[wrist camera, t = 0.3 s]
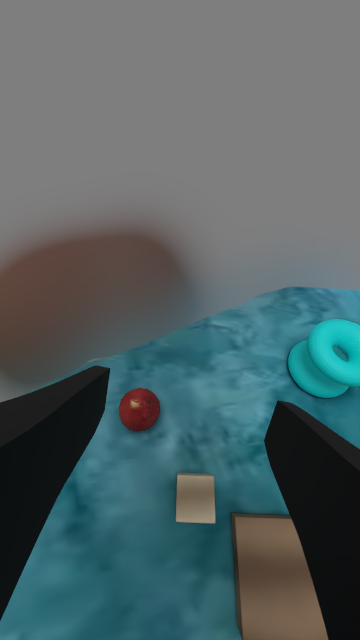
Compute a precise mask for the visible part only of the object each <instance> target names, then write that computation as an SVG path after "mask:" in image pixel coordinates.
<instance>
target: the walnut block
mask: <svg viewBox="0 0 360 640" xmlns="http://www.w3.org/2000/svg"><path fill="white" fill-rule="evenodd" d="M231 519H232V536H233V552H234V569H235V586H236V603H237V619H238V629H239V631H240V634H241V637H242V640H328V636H327V632H326V628H325V624H324V621H323V617H322V613H321V610H320V606H319V603H318V599H317V596H316V592H315V589H314V585H313V582H312V578H311V575H310V572H309V568H308V565H307V562H306V559H305V555H304V552H303V549H302V546H301V543H300V540H299V537H298V534H297V531H296V529H295V526H294V524H293V521H292V519H291V516H290V515H276V514H251V513H231Z"/></svg>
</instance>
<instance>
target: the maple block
mask: <svg viewBox="0 0 360 640" xmlns="http://www.w3.org/2000/svg"><path fill="white" fill-rule="evenodd" d="M176 522H192V523H215V496H214V476H212V475H211V474H202V473H177V504H176Z"/></svg>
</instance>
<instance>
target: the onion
mask: <svg viewBox="0 0 360 640" xmlns="http://www.w3.org/2000/svg"><path fill="white" fill-rule="evenodd" d="M159 412H160V404H159V400H158V399H157V397H156V395H155V394H154V393H153V392H151V391H149V390H148V389H143V388H138V389H133V390H131V391H129V392H128V393H126V394H125V395H124V397H123V398H122V399H121V402H120V405H119V416H120V419H121V421H122V423H123V424H124V425H125V426H126V427H127V428H128V429H129V430H133V431H143V430H146V429H148V428H149V427H151V426H152V425H153V424H154V423H155V422H156V420H157V419H158V416H159Z"/></svg>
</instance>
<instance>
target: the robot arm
mask: <svg viewBox="0 0 360 640" xmlns="http://www.w3.org/2000/svg"><path fill="white" fill-rule="evenodd" d="M109 374H110V368H106V367H101V366H93V367H91V368H88V369H86V370H84V371H82V372H79V373H77V374H75V375H73V376H71V377H68V378H66V379H64V380H62V381H59V382H57V383H55V384H52V385H49V386H47V387H44V388H42V389H39V390H37V391H34V392H32V393H29V394H26V395H23V396H20V397H17V398H14V399H11V400H7V401H4V402H1V403H0V620H1V618H2V616H3V614H4V611H5V609H6V607H7V605H8V602H9V600H10V598H11V596H12V593H13V591H14V589H15V587H16V585H17V582H18V580H19V578H20V576H21V573H22V571H23V569H24V567H25V565H26V563H27V560H28V558H29V556H30V554H31V552H32V550H33V547H34V545H35V543H36V541H37V539H38V537H39V534H40V532H41V530H42V528H43V526H44V524H45V522H46V520H47V518H48V516H49V514H50V511H51V509H52V507H53V505H54V503H55V501H56V499H57V497H58V495H59V494H60V492H61V490H62V488H63V486H64V484H65V483H66V481H67V479H68V478H69V476H70V474H71V473H72V471H73V469H74V467H75V466H76V464H77V462H78V461H79V459H80V457H81V456H82V454H83V452H84V451H85V449H86V447H87V445H88V444H89V442H90V440H91V439H92V437H93V435H94V433H95V431H96V429H97V427H98V425H99V422H100V420H101V418H102V415H103V413H104V410H105V403H106V396H107V388H108V381H109ZM264 442H265V447H266V451H267V455H268V459H269V462H270V466H271V468H272V471H273V474H274V476H275V479H276V481H277V484H278V486H279V489H280V491H281V494H282V496H283V499H284V501H285V504H286V506H287V509H288V511H289V514H290V516H291V519H292V521H293V524H294V526H295V529H296V531H297V534H298V537H299V540H300V543H301V546H302V549H303V552H304V555H305V559H306V562H307V565H308V568H309V572H310V575H311V578H312V582H313V585H314V589H315V592H316V596H317V599H318V603H319V606H320V610H321V613H322V617H323V621H324V624H325V628H326V632H327V636H328V640H360V449H358V448H357V447H355V446H354V445H352V444H351V443H349V442H348V441H347V440H345V439H344V438H342V437H341V436H339V435H338V434H337V433H335V432H334V431H332V430H331V429H329V428H328V427H327V426H325V425H324V424H322V423H321V422H320V421H318V420H317V419H315V418H314V417H313V416H311V415H310V414H308V413H307V412H305V411H304V410H302V409H301V408H299V407H298V406H296V405H294V404H292V403H288V402H283V401H277V404H276V407H275V410H274V413H273V416H272V419H271V421H270V424H269V427H268V430H267V433H266V436H265V439H264Z"/></svg>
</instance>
